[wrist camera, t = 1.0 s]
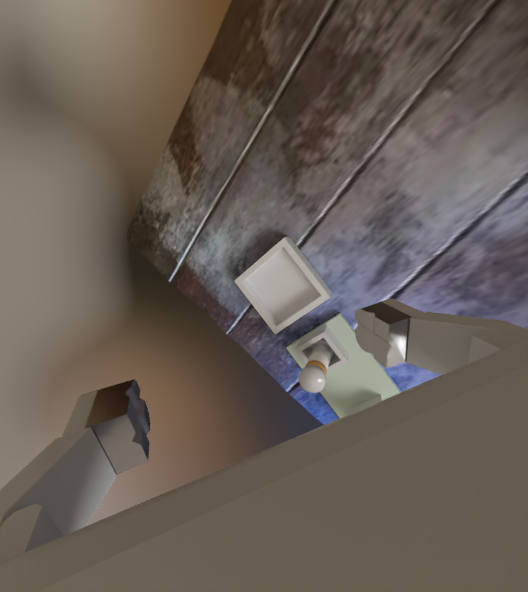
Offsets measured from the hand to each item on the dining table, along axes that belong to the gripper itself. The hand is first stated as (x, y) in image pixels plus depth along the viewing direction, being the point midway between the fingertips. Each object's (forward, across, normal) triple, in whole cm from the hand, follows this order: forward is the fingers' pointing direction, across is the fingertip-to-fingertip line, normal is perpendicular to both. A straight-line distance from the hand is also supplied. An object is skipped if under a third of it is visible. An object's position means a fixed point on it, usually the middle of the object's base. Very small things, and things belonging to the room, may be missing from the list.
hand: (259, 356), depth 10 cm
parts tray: (+34, -14, +12) cm, 39 cm away
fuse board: (+25, -21, +29) cm, 44 cm away
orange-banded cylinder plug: (+28, -18, +23) cm, 40 cm away
